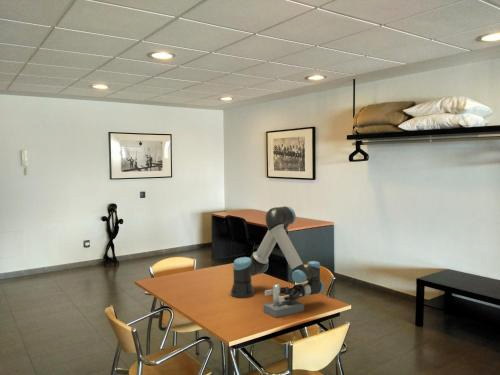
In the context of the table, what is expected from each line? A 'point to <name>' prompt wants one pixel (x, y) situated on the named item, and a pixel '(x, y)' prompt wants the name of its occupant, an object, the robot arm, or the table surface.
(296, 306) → the keyhole plate
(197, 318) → the table surface
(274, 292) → the steel peg
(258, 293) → the table surface
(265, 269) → the robot arm
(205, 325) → the table surface
